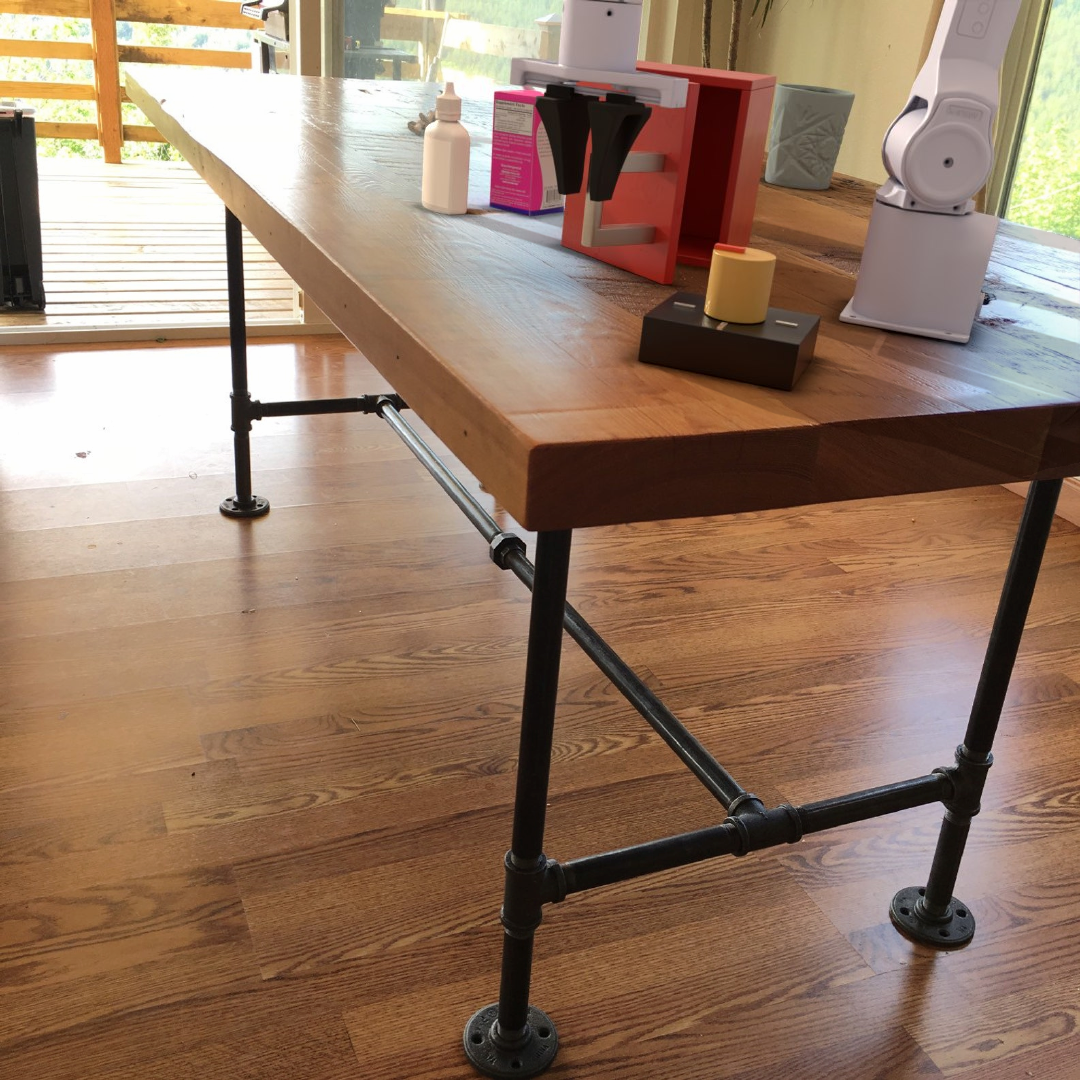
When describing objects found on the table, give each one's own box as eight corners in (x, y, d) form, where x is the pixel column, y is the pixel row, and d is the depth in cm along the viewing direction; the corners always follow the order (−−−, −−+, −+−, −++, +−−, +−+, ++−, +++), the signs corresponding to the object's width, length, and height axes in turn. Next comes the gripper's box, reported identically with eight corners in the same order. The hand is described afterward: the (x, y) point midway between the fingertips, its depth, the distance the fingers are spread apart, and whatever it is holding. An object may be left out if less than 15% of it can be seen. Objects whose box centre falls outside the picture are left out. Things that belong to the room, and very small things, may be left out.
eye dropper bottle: (422, 214, 110) (427, 83, 104) (421, 203, 115) (425, 77, 109) (467, 217, 110) (474, 86, 105) (463, 206, 115) (470, 81, 110)
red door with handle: (597, 290, 88) (620, 80, 81) (498, 248, 98) (511, 59, 91) (672, 284, 92) (700, 83, 85) (569, 244, 102) (586, 63, 95)
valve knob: (771, 313, 74) (782, 248, 72) (758, 327, 71) (770, 259, 69) (712, 303, 75) (722, 238, 73) (697, 316, 72) (707, 248, 70)
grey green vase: (761, 174, 155) (777, 81, 150) (835, 183, 154) (853, 89, 148) (759, 184, 146) (775, 86, 141) (838, 194, 145) (857, 95, 140)
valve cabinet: (722, 271, 98) (752, 80, 91) (568, 245, 103) (585, 61, 96) (747, 252, 107) (777, 76, 100) (603, 228, 111) (622, 58, 104)
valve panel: (812, 359, 76) (822, 313, 75) (790, 392, 69) (799, 342, 68) (672, 332, 79) (678, 287, 78) (637, 361, 72) (643, 313, 71)
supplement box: (521, 202, 120) (530, 88, 115) (565, 212, 117) (575, 95, 112) (485, 207, 116) (493, 88, 111) (529, 217, 113) (539, 96, 108)
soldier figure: (393, 139, 163) (412, 104, 172) (417, 163, 165) (435, 128, 174) (428, 105, 159) (446, 71, 167) (453, 130, 161) (469, 96, 169)
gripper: (719, 11, 79) (692, 208, 85) (554, -4, 87) (540, 177, 93) (668, 8, 74) (643, 217, 80) (497, -9, 82) (486, 184, 88)
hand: (584, 196), depth 86 cm, fingers closed
